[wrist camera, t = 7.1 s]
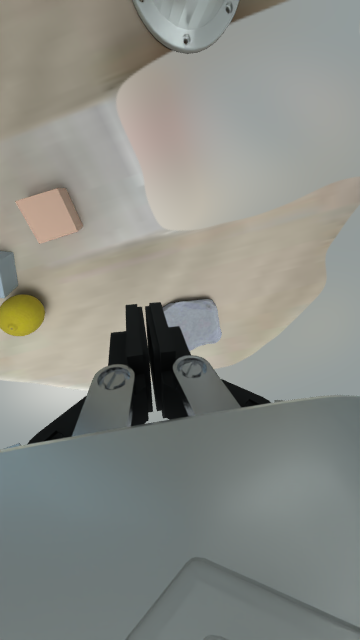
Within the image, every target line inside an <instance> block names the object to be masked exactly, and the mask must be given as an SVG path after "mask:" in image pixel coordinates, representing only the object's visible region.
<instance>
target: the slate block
mask: <svg viewBox="0 0 360 640" xmlns="http://www.w3.org/2000/svg"><path fill="white" fill-rule="evenodd" d="M17 286H18V280H17V274H16V267H15V261H14V254H13V252H4V251H0V298H5V297H6V296H8V295H9V294H10V293H11V292H12V291H13V290H14V289H15V288H16V287H17Z"/></svg>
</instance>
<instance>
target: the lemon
mask: <svg viewBox="0 0 360 640" xmlns="http://www.w3.org/2000/svg"><path fill="white" fill-rule="evenodd" d="M44 316H45V310H44V307H43V305H42V303H41V302H40V301H39V300H38V299H36V298H35V297H33V296H30V295H24V294H22V295H15V296H13V297H10V298H9V299H7V300H6V301H5V302H4V303H3V304H2V305H1V307H0V328H1V329H2V330H3V331H4V332H6V333H8V334H10V335H13V336H25V335H28V334H30V333H32V332H34V331H35V330H36V329H38V328H39V327H40V325H41V324H42V322H43V320H44Z"/></svg>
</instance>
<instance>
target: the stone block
mask: <svg viewBox="0 0 360 640" xmlns="http://www.w3.org/2000/svg"><path fill="white" fill-rule="evenodd" d="M163 311H164V315H165V318H166V321H167V324H168V327H175V326H179V327H180V328H181V331H182V334H183V336H184V339H185V341H186V344H187V346H188V349H189V351H190V350H192V349H194V348H196V347H198V346H201V345H205V344H210V343H216V342H218V341H219V340H220V338H221V335H222V332H221V329H220V325H219V318H218V311H217V307H216V305H215V303H214V302H213V300H210V299H203V300H196V301H194V300H193V301H182V302H176V303H169V304H168V305H166V306H165V307H163Z"/></svg>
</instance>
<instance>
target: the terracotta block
mask: <svg viewBox="0 0 360 640" xmlns="http://www.w3.org/2000/svg"><path fill="white" fill-rule="evenodd" d="M15 202H16V204H17V206H18V207H19V209H20V211H21V213H22V214H23V216H24V218H25V220H26V221H27V223H28V225H29V227H30V228H31V230H32V232H33V234H34V235H35V237H36V239H37V240H38V242H39V244H41V243H44V242H47V241H50V240H53V239H56V238H59V237H63V236H66V235H69V234H72V233H75V232H78V231H79V230H80V229H81V228H82V227H83V225H82V223H81V220H80V218H79V216H78V214H77V212H76V210H75V207H74V205H73V203H72V201H71V199H70V196H69V194H68V192H67V190H66V188H56V189H53V190H50V191H46V192H43V193H40V194H37V195H34V196H30V197H27V198H24V199H21V200H17V201H15Z"/></svg>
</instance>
